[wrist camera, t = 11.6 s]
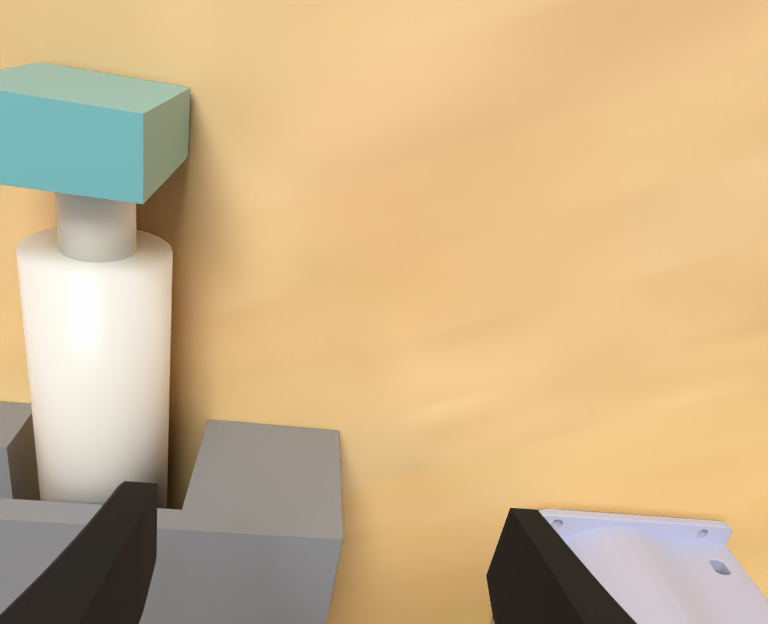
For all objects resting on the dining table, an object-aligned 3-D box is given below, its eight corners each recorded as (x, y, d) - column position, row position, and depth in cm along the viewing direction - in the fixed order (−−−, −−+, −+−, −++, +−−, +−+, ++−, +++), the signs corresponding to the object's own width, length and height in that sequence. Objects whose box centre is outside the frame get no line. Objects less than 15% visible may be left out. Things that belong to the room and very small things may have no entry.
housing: (339, 430, 23) (342, 539, 18) (303, 632, 28) (299, 758, 24) (-7, 400, 21) (-104, 513, 17) (22, 623, 26) (-46, 758, 22)
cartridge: (190, 87, 17) (143, 113, 13) (176, 494, 24) (142, 605, 19) (41, 62, 17) (-63, 80, 12) (70, 487, 23) (9, 600, 19)
